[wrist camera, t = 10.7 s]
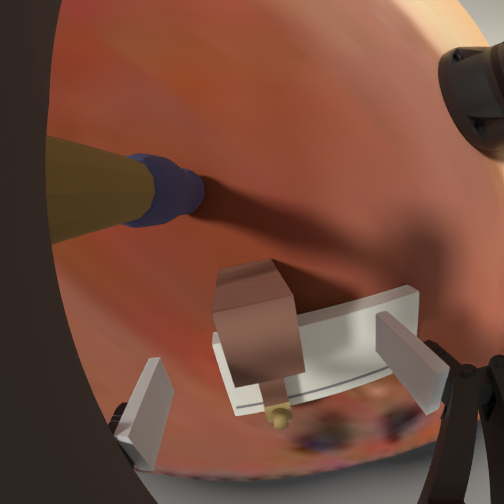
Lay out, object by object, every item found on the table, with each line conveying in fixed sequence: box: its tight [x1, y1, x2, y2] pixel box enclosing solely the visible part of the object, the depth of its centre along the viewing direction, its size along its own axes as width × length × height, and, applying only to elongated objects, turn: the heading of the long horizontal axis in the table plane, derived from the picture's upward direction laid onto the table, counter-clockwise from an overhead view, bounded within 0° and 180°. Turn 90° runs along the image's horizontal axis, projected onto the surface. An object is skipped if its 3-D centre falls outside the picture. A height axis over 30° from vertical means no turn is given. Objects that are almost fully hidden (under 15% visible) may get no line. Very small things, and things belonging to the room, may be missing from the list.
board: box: [212, 285, 419, 416], centre depth 28 cm, size 10×22×3 cm, turn 101°
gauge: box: [212, 258, 305, 430], centre depth 23 cm, size 17×5×10 cm, turn 12°
